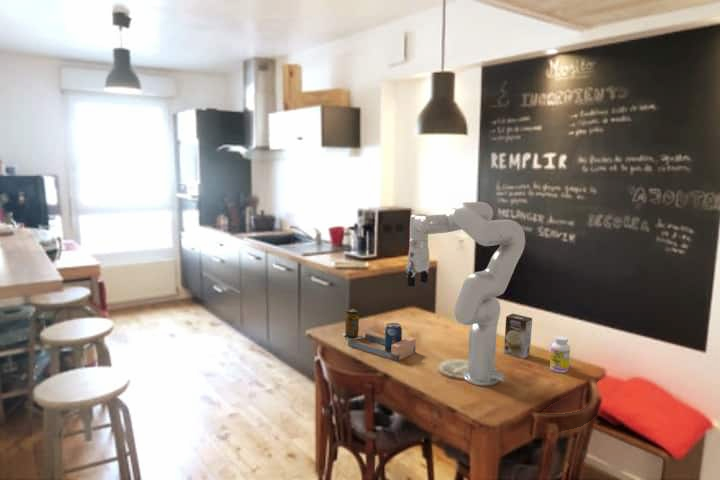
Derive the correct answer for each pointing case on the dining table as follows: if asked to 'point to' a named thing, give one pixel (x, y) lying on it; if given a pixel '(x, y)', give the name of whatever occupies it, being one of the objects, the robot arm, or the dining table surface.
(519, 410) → the dining table surface
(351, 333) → the condiment
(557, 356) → the supplement bottle
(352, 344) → the guide channel
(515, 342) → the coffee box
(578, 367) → the dining table surface
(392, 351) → the stop block
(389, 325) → the soda can
